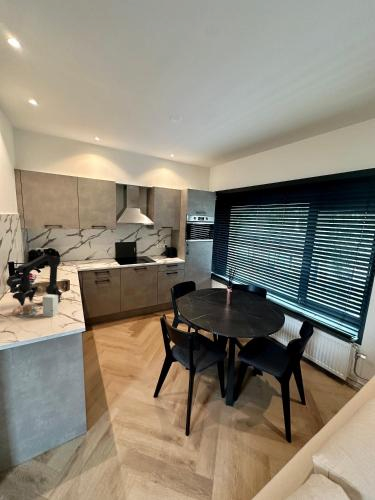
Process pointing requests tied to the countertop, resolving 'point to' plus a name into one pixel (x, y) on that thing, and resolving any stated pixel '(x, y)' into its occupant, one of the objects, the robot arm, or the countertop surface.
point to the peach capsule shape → (16, 312)
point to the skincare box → (50, 305)
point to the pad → (27, 315)
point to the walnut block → (27, 310)
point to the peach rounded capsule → (21, 308)
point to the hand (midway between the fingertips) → (26, 303)
